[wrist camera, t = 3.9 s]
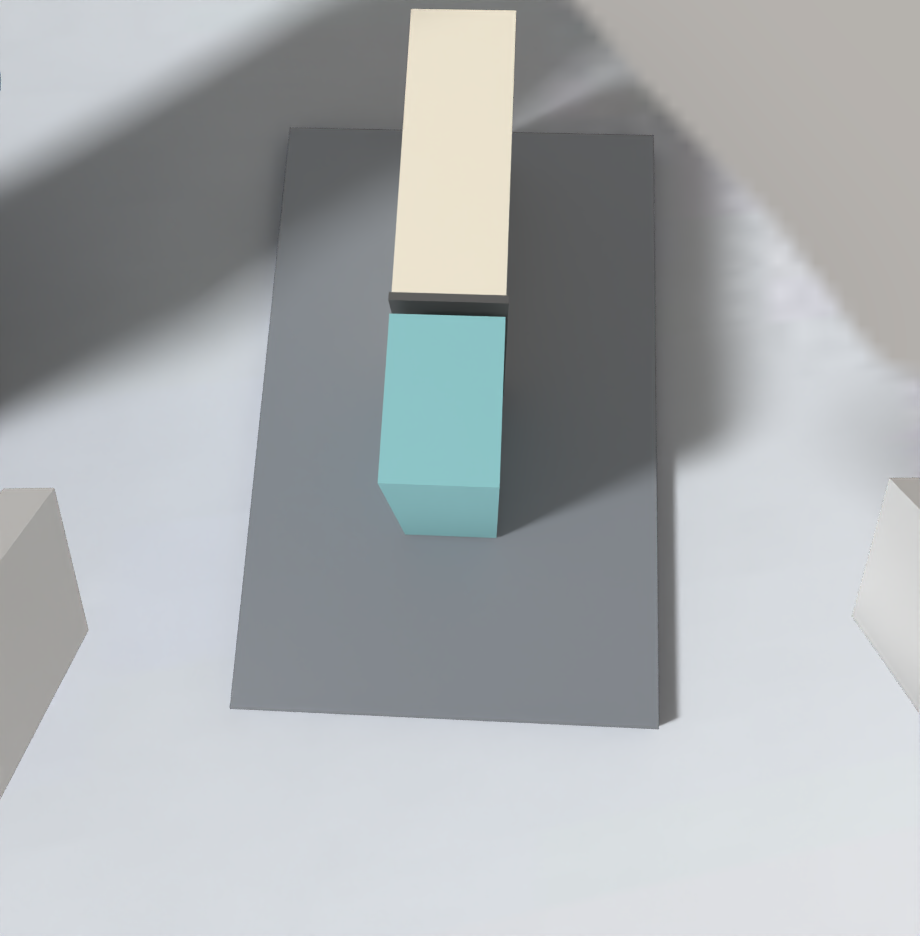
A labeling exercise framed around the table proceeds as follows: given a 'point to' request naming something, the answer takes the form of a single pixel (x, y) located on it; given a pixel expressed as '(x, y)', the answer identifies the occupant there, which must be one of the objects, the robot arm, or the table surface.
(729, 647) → the table surface
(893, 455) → the table surface
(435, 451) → the stub
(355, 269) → the ticket stand
